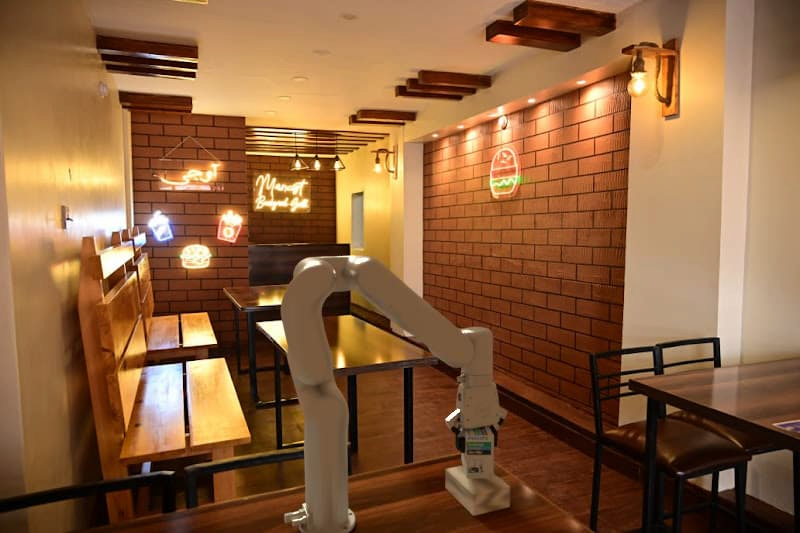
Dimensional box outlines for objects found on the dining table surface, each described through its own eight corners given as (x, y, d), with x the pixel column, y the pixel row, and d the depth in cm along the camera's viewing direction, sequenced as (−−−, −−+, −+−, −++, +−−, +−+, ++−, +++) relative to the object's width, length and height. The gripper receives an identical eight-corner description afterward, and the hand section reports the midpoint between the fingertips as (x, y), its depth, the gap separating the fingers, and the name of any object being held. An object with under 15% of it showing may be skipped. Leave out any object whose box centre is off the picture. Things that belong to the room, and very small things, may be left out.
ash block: (473, 515, 121) (473, 495, 120) (445, 487, 134) (445, 468, 133) (509, 506, 124) (510, 486, 124) (479, 480, 137) (479, 461, 137)
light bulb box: (494, 479, 123) (495, 434, 122) (466, 479, 123) (466, 435, 122) (486, 459, 134) (486, 418, 133) (460, 459, 134) (460, 418, 133)
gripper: (452, 387, 120) (452, 460, 121) (516, 378, 126) (515, 447, 128) (437, 378, 127) (438, 448, 128) (498, 370, 133) (498, 436, 135)
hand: (476, 447), depth 128 cm, fingers closed on light bulb box, 8 cm apart
